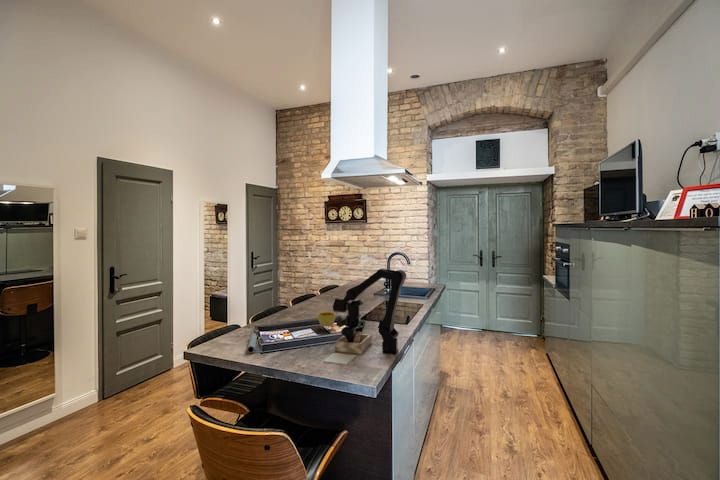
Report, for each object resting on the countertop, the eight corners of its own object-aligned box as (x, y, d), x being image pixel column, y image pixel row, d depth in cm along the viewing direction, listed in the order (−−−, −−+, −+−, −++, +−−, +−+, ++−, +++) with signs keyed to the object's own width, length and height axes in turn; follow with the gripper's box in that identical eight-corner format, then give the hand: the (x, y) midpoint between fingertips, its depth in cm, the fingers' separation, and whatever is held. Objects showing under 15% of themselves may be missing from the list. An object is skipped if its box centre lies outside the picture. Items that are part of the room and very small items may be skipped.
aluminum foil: (250, 339, 184) (250, 333, 184) (263, 338, 186) (263, 332, 186) (247, 353, 162) (247, 346, 162) (261, 352, 164) (261, 345, 164)
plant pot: (332, 333, 194) (332, 316, 194) (315, 332, 196) (315, 315, 196) (337, 328, 204) (337, 312, 204) (321, 327, 206) (321, 311, 206)
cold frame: (371, 343, 174) (371, 334, 174) (361, 353, 159) (361, 344, 159) (347, 341, 179) (347, 332, 179) (335, 350, 163) (334, 341, 163)
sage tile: (355, 356, 155) (355, 355, 155) (346, 365, 145) (346, 363, 145) (333, 354, 159) (333, 352, 159) (323, 362, 149) (323, 360, 149)
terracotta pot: (363, 345, 171) (362, 331, 171) (358, 350, 164) (358, 335, 164) (349, 344, 174) (349, 330, 174) (344, 348, 167) (344, 333, 167)
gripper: (345, 308, 180) (345, 337, 180) (331, 316, 163) (331, 348, 163) (365, 309, 177) (365, 339, 177) (352, 317, 159) (353, 351, 159)
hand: (353, 344), depth 169 cm, fingers open, 9 cm apart
